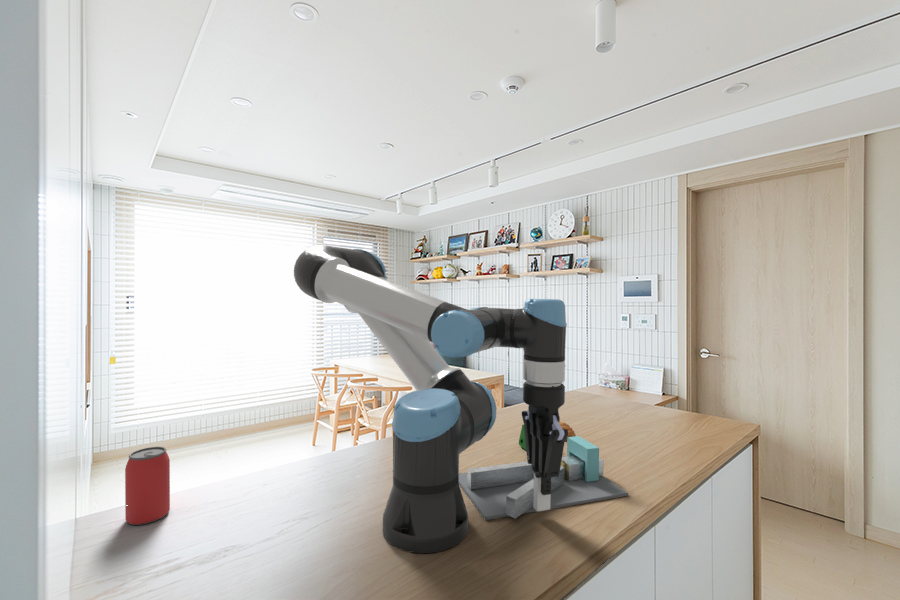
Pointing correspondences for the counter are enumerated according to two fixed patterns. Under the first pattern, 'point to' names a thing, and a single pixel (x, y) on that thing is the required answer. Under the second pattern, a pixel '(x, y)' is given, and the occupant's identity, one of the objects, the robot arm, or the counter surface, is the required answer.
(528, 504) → the arm
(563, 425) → the pastry
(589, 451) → the collar
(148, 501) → the beer can
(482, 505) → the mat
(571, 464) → the tongs body
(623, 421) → the counter surface
